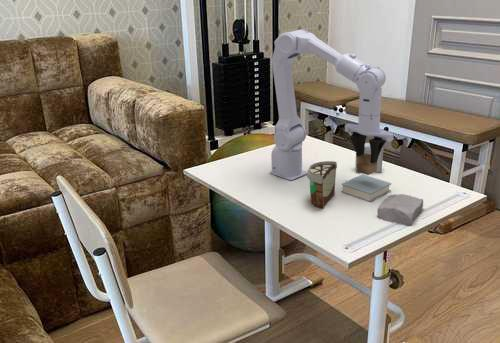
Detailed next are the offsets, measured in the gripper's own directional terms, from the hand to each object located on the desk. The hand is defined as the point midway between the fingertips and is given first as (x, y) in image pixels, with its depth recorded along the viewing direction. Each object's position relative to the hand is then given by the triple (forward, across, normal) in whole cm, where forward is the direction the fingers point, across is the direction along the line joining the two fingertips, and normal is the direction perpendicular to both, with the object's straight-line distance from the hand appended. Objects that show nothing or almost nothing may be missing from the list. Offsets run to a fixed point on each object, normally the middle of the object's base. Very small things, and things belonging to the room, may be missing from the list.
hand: (367, 160), depth 140 cm
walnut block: (+3, 0, 0) cm, 3 cm away
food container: (+10, +6, +14) cm, 18 cm away
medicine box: (+10, +9, -14) cm, 19 cm away
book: (+10, 0, 0) cm, 10 cm away
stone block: (+10, -14, +6) cm, 18 cm away
